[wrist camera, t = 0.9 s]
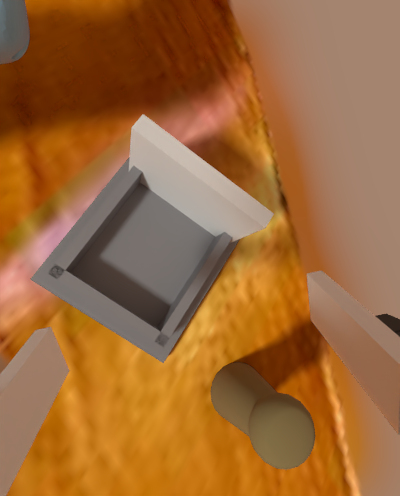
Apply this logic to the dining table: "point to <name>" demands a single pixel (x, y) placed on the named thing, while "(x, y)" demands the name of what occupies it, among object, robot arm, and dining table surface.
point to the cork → (264, 415)
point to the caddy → (152, 242)
